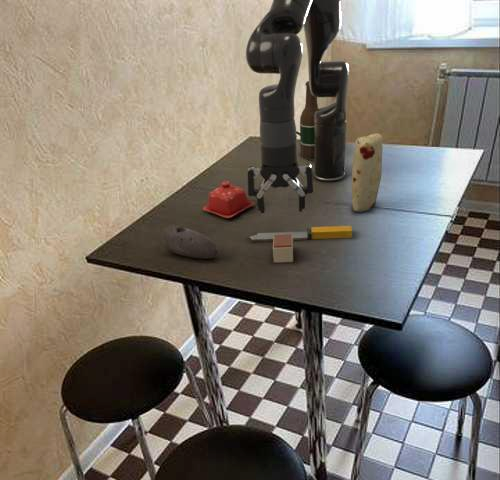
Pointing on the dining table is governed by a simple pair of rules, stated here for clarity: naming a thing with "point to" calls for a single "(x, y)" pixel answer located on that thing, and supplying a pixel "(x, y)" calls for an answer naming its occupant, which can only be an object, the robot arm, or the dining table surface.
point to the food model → (366, 171)
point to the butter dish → (227, 200)
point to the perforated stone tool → (188, 243)
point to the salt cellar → (283, 248)
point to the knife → (309, 234)
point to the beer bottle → (308, 125)
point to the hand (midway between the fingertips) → (281, 210)
